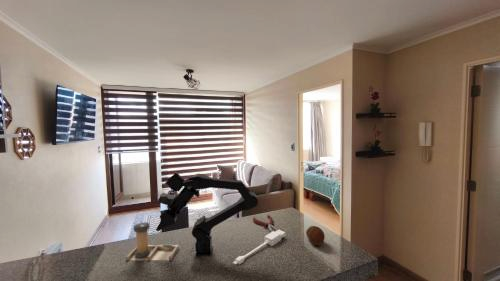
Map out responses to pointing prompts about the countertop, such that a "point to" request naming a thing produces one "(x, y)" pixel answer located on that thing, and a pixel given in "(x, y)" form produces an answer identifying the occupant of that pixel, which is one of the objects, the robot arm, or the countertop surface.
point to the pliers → (266, 225)
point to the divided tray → (156, 252)
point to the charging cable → (268, 239)
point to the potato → (315, 235)
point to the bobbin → (142, 240)
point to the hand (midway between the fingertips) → (159, 225)
